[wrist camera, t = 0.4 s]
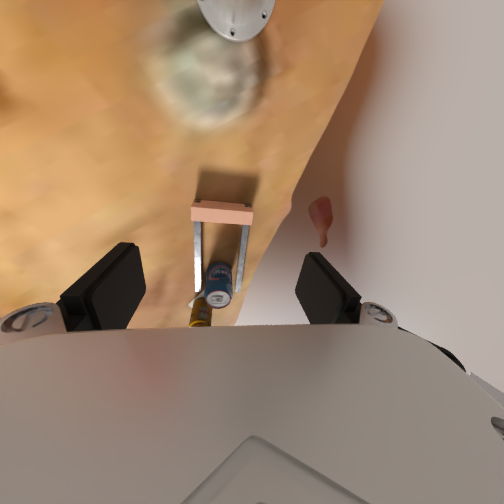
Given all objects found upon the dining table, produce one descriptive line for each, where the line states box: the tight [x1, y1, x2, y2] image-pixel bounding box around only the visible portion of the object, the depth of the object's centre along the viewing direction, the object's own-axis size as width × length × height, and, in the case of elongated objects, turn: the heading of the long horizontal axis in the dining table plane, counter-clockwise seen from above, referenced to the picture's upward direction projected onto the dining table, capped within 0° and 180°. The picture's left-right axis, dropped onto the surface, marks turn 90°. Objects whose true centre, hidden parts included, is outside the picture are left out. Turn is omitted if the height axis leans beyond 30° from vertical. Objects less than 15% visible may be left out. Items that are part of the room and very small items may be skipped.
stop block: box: [191, 200, 253, 225], centre depth 42 cm, size 3×13×6 cm, turn 82°
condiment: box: [188, 290, 213, 327], centre depth 54 cm, size 7×8×12 cm
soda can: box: [204, 262, 233, 309], centre depth 48 cm, size 7×7×12 cm
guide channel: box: [194, 199, 251, 292], centre depth 49 cm, size 26×13×2 cm, turn 172°
